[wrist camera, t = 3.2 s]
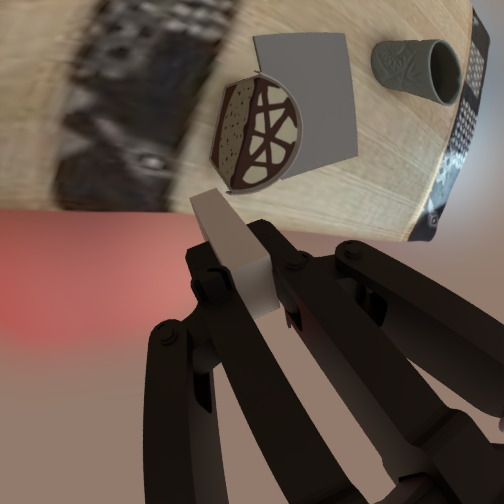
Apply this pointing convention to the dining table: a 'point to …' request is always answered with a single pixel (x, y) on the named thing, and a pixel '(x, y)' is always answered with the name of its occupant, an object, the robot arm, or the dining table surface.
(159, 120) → the dining table surface
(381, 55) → the grey green cup
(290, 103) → the food container
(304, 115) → the mat
